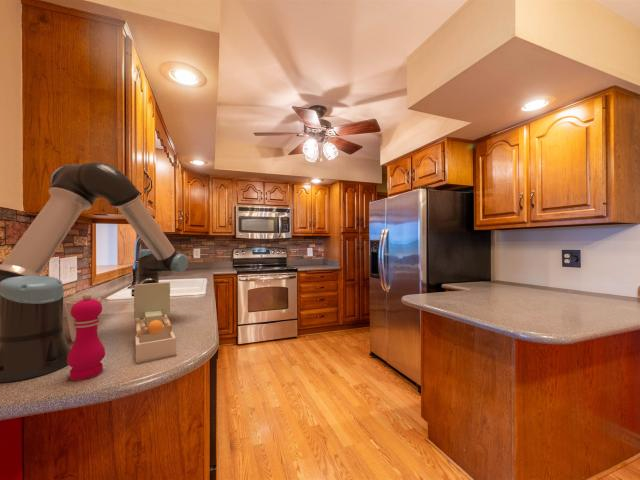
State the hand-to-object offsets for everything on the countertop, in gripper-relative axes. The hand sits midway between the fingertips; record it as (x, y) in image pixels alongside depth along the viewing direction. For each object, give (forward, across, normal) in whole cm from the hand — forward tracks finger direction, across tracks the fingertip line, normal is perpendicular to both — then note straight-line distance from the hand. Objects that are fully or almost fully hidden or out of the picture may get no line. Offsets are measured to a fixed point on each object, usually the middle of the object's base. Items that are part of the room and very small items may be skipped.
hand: (154, 298), depth 94 cm
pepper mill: (+18, +16, -14) cm, 28 cm away
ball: (+13, +1, -6) cm, 15 cm away
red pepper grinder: (-16, +20, -14) cm, 29 cm away
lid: (+4, +1, -7) cm, 8 cm away
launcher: (+3, +1, -14) cm, 14 cm away
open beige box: (+13, +1, -14) cm, 19 cm away
